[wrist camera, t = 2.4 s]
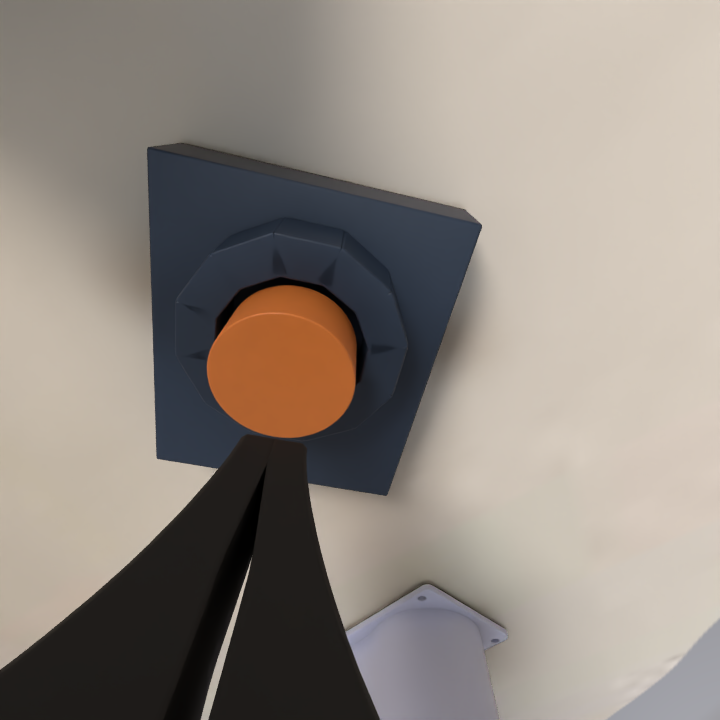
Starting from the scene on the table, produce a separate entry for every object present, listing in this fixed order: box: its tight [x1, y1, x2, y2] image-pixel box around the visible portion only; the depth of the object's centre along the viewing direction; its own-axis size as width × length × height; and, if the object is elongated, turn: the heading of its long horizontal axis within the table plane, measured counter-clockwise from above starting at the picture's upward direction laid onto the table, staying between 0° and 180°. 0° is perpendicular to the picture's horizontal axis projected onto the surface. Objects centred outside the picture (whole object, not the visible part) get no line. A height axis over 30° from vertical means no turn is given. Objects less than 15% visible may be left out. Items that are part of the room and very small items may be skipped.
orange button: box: [207, 285, 357, 438], centre depth 12 cm, size 4×4×2 cm
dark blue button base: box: [147, 143, 482, 496], centre depth 15 cm, size 12×10×4 cm
